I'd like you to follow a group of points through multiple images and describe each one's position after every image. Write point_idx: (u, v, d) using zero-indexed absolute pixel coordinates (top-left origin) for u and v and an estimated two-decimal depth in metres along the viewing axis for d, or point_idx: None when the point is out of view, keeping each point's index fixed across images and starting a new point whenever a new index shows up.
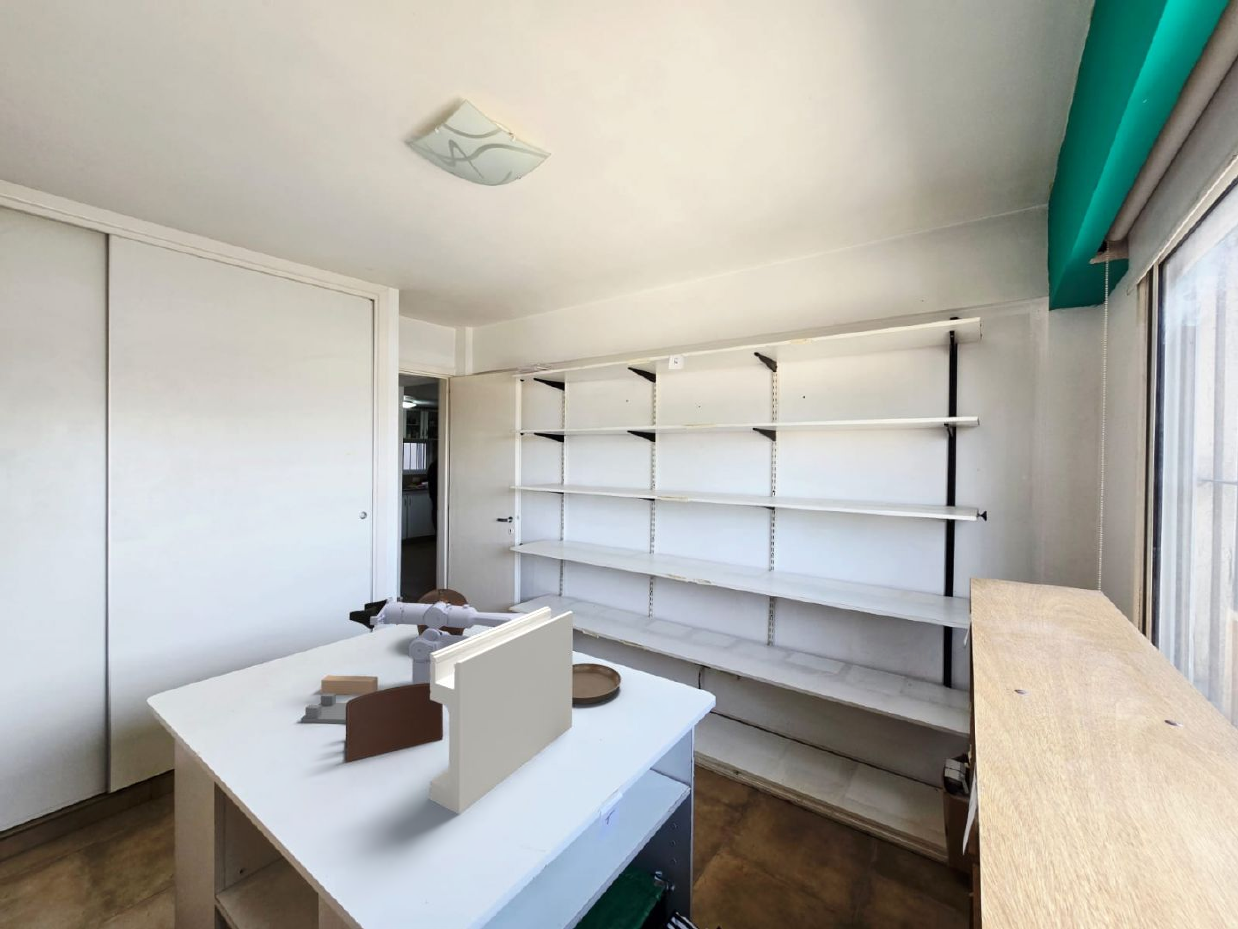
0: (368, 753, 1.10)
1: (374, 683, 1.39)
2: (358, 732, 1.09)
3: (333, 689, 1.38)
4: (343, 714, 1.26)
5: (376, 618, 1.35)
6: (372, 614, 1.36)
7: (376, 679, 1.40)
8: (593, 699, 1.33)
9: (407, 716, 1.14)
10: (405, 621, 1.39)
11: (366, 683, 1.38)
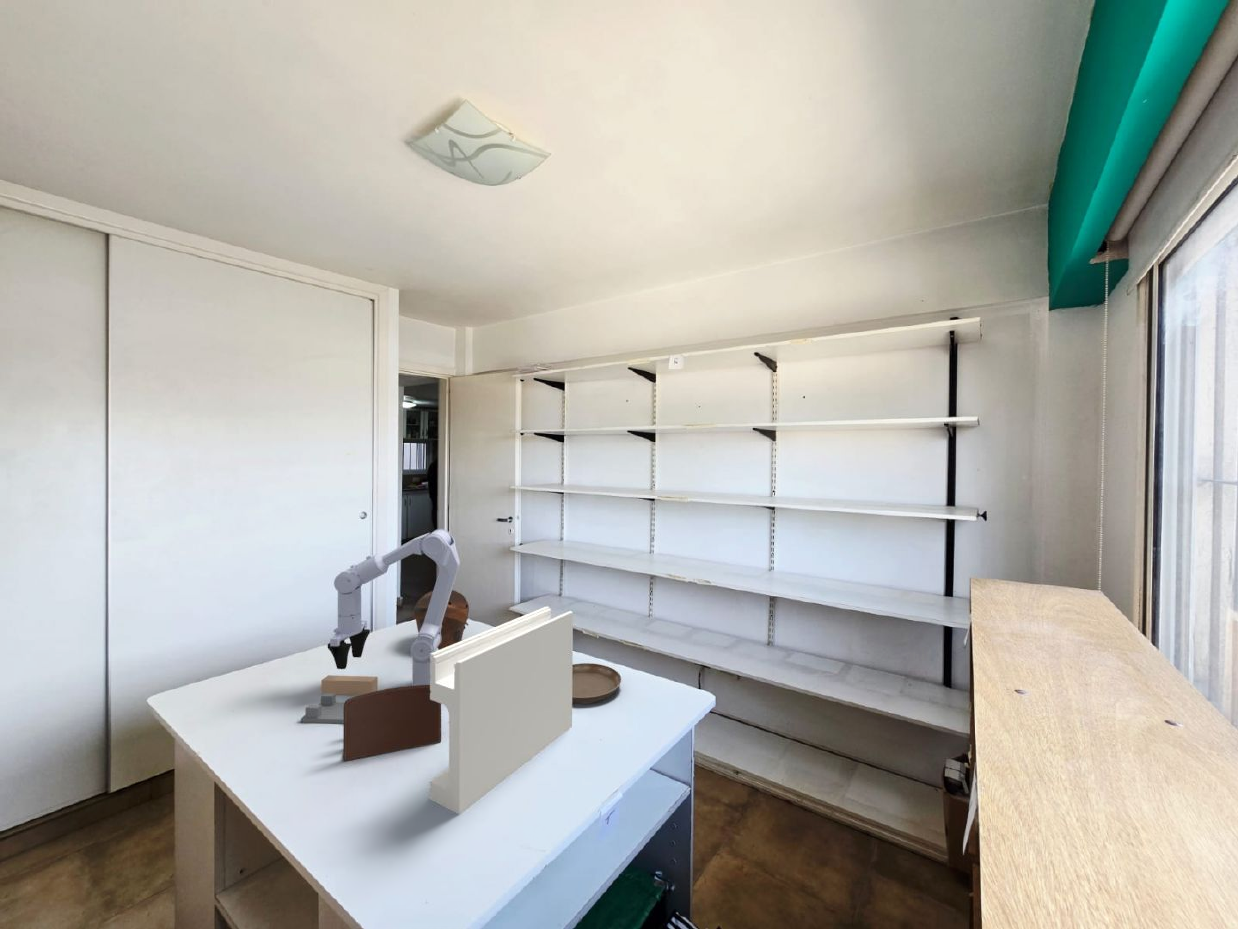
0: (365, 753, 1.10)
1: (374, 683, 1.39)
2: (355, 731, 1.09)
3: (333, 689, 1.38)
4: (343, 714, 1.26)
5: (331, 639, 1.32)
6: None
7: (376, 679, 1.40)
8: (593, 699, 1.33)
9: (405, 717, 1.13)
10: (351, 612, 1.37)
11: (366, 683, 1.38)
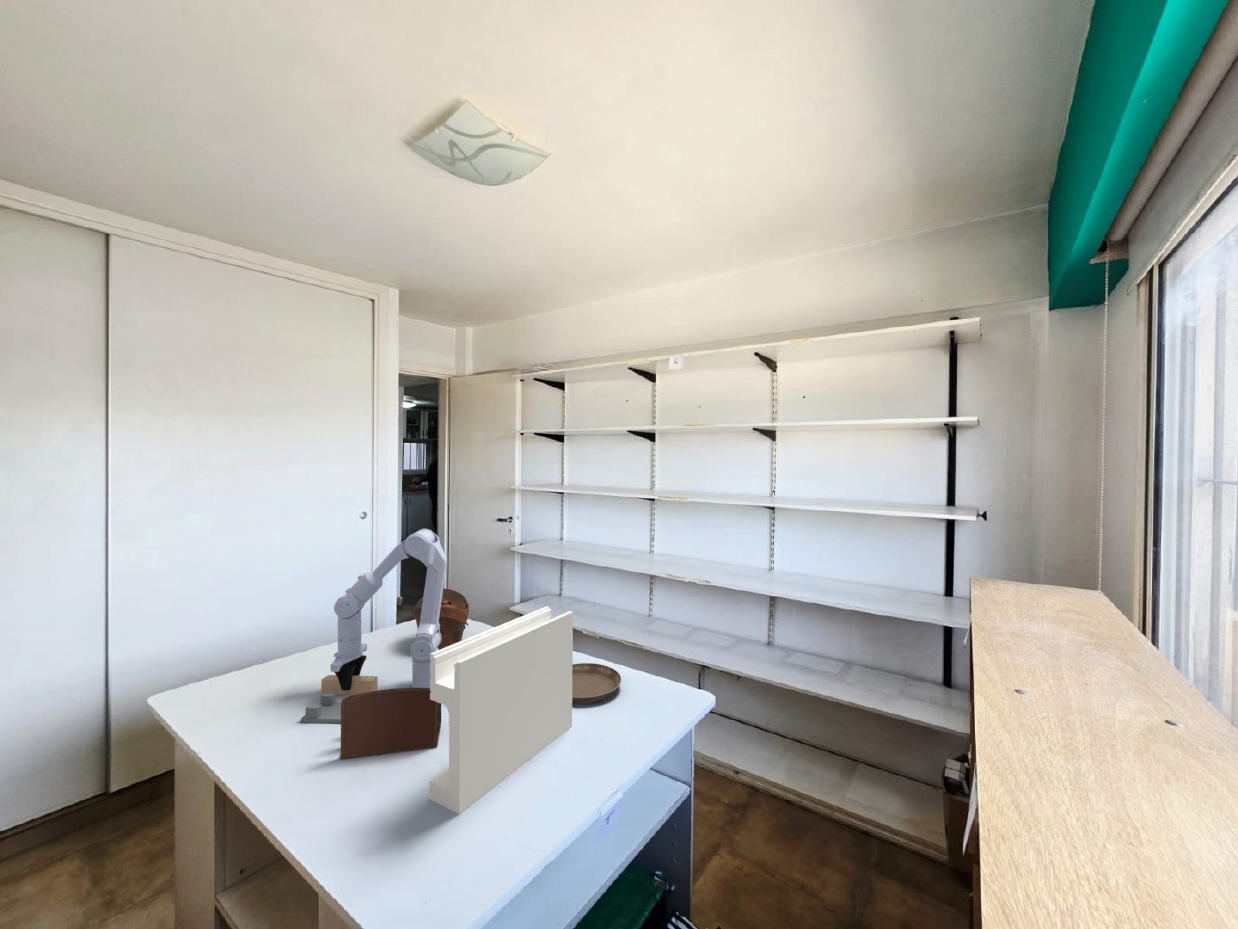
0: (362, 752, 1.10)
1: (374, 683, 1.39)
2: (352, 730, 1.10)
3: (333, 689, 1.38)
4: None
5: (331, 665, 1.32)
6: None
7: (376, 679, 1.40)
8: (593, 699, 1.33)
9: (401, 719, 1.12)
10: (351, 637, 1.37)
11: (366, 682, 1.38)
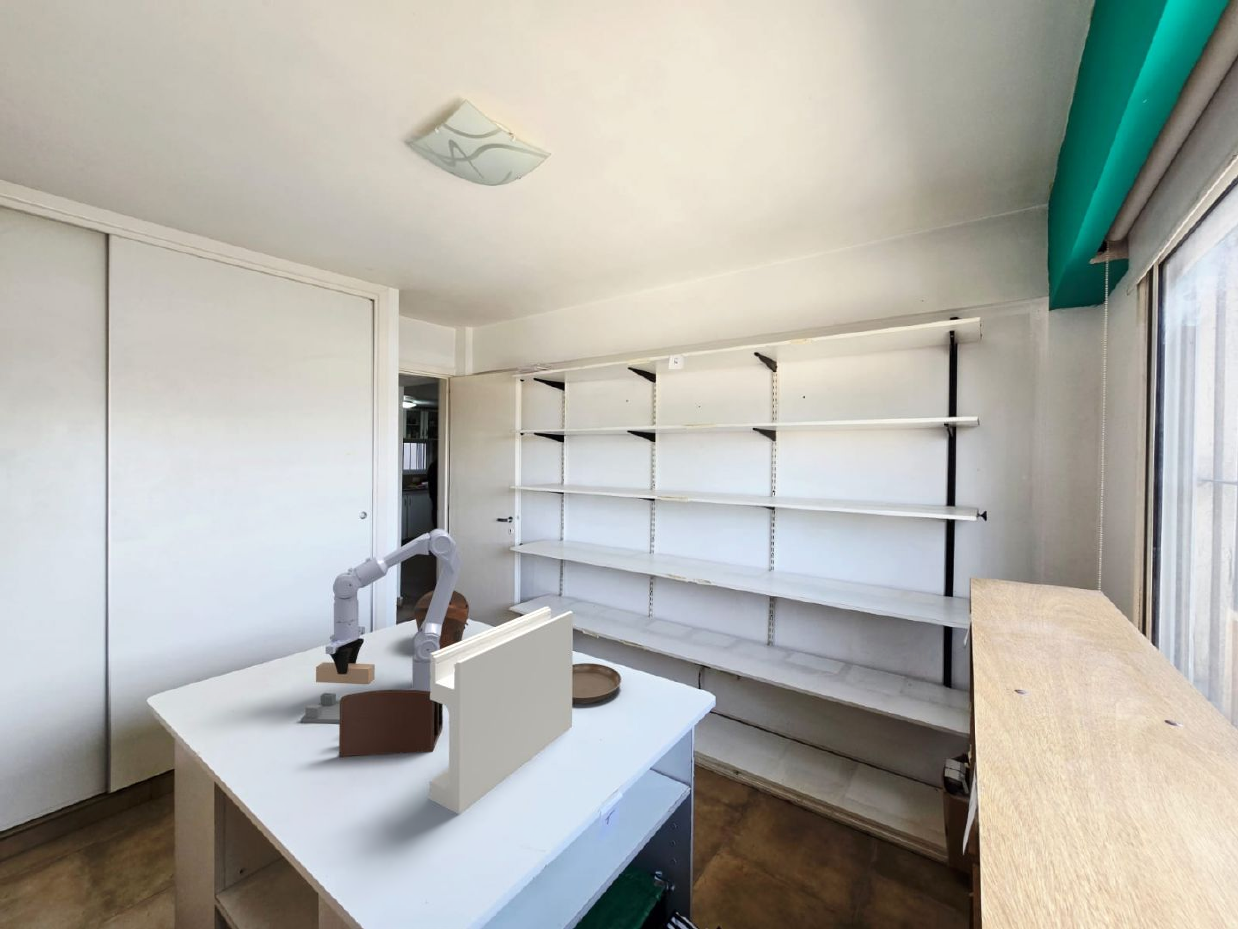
0: (359, 752, 1.10)
1: (371, 671, 1.33)
2: (350, 729, 1.10)
3: (328, 677, 1.32)
4: None
5: (326, 647, 1.26)
6: None
7: (373, 667, 1.34)
8: (593, 699, 1.33)
9: (397, 721, 1.11)
10: (351, 617, 1.31)
11: (362, 670, 1.32)
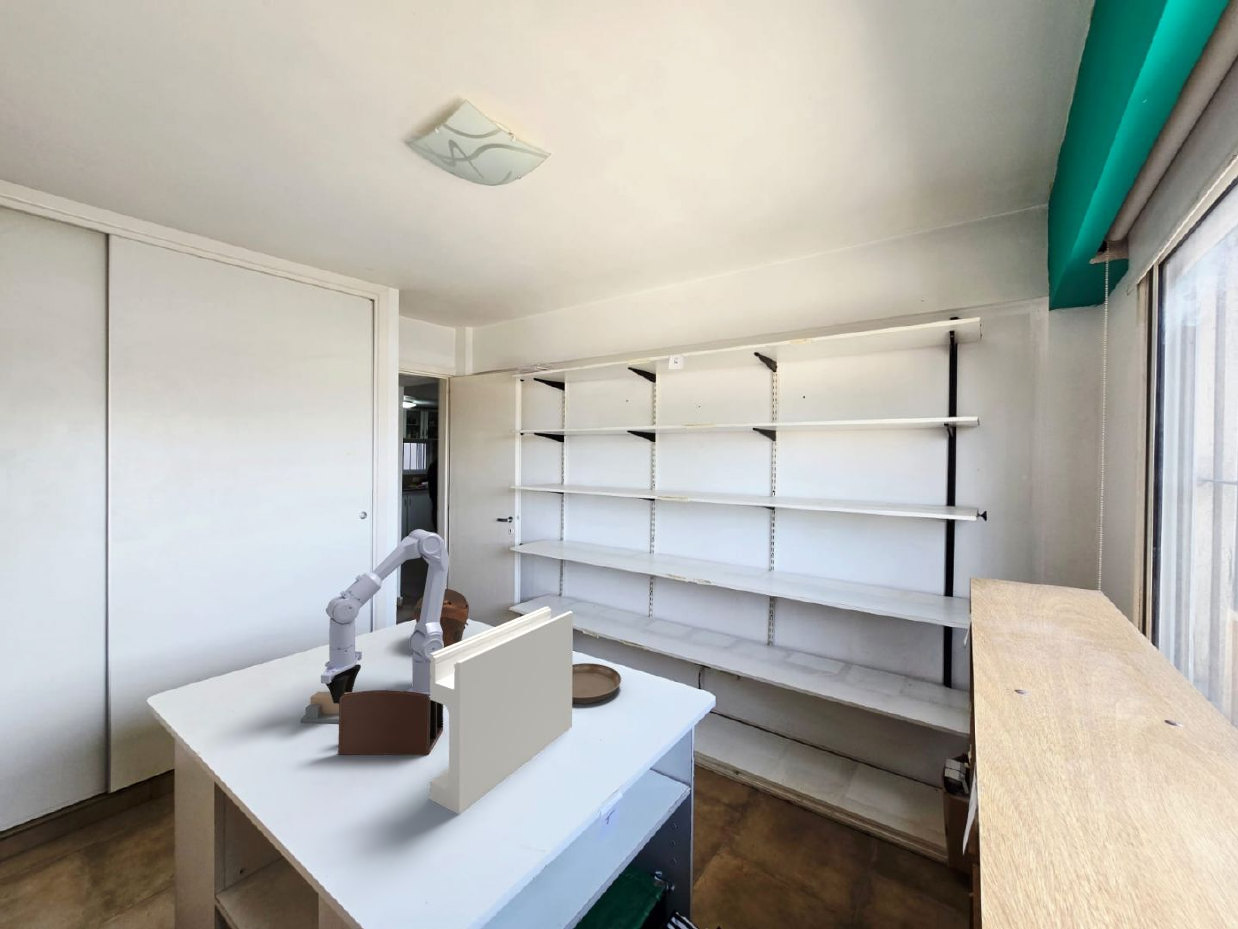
0: (357, 751, 1.11)
1: None
2: (349, 727, 1.11)
3: (323, 707, 1.26)
4: None
5: (321, 676, 1.20)
6: None
7: None
8: (593, 699, 1.33)
9: (394, 722, 1.11)
10: (351, 642, 1.26)
11: None
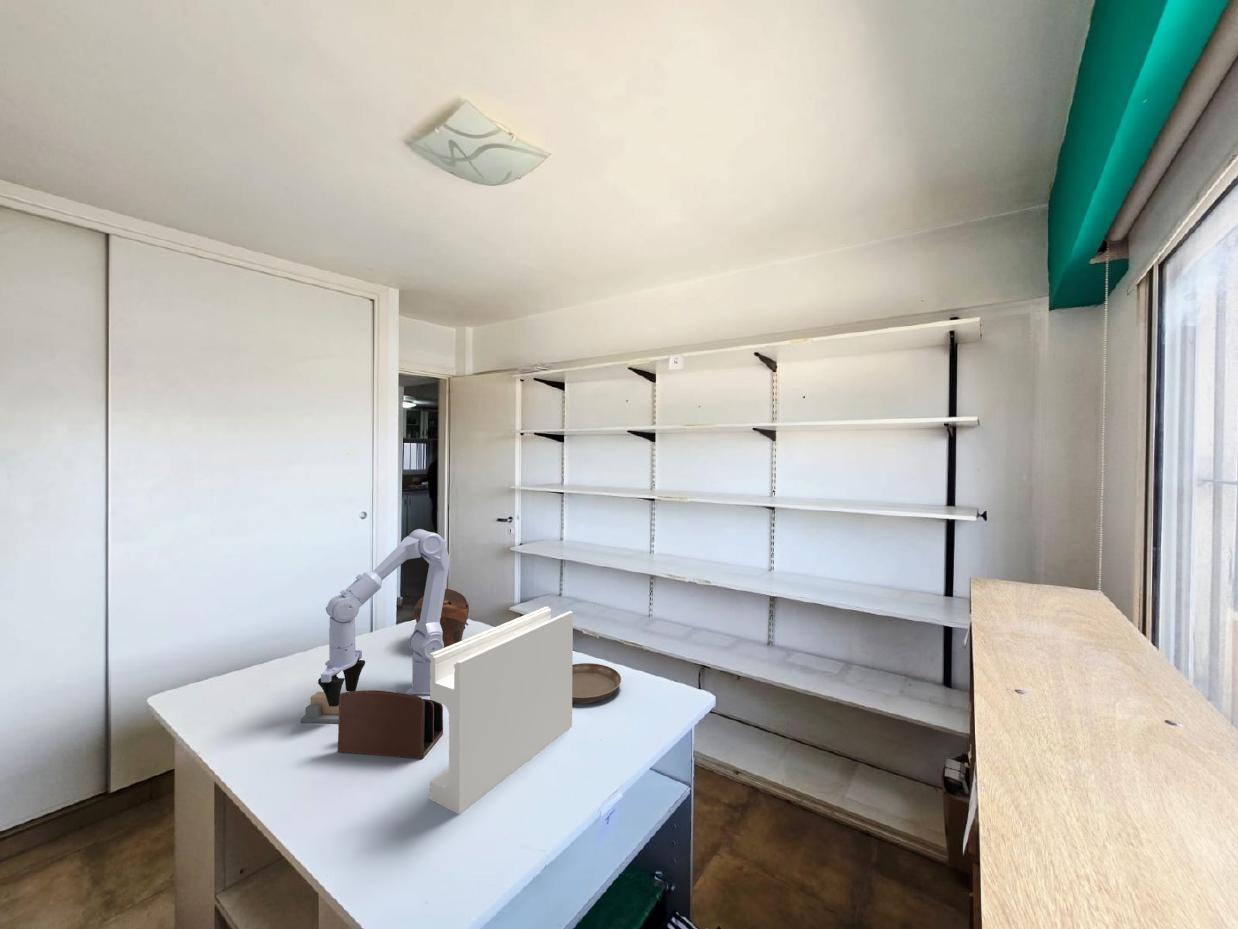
0: (355, 750, 1.11)
1: None
2: (347, 725, 1.11)
3: (323, 707, 1.26)
4: None
5: (321, 675, 1.20)
6: None
7: None
8: (593, 699, 1.33)
9: (390, 724, 1.10)
10: (351, 641, 1.26)
11: None
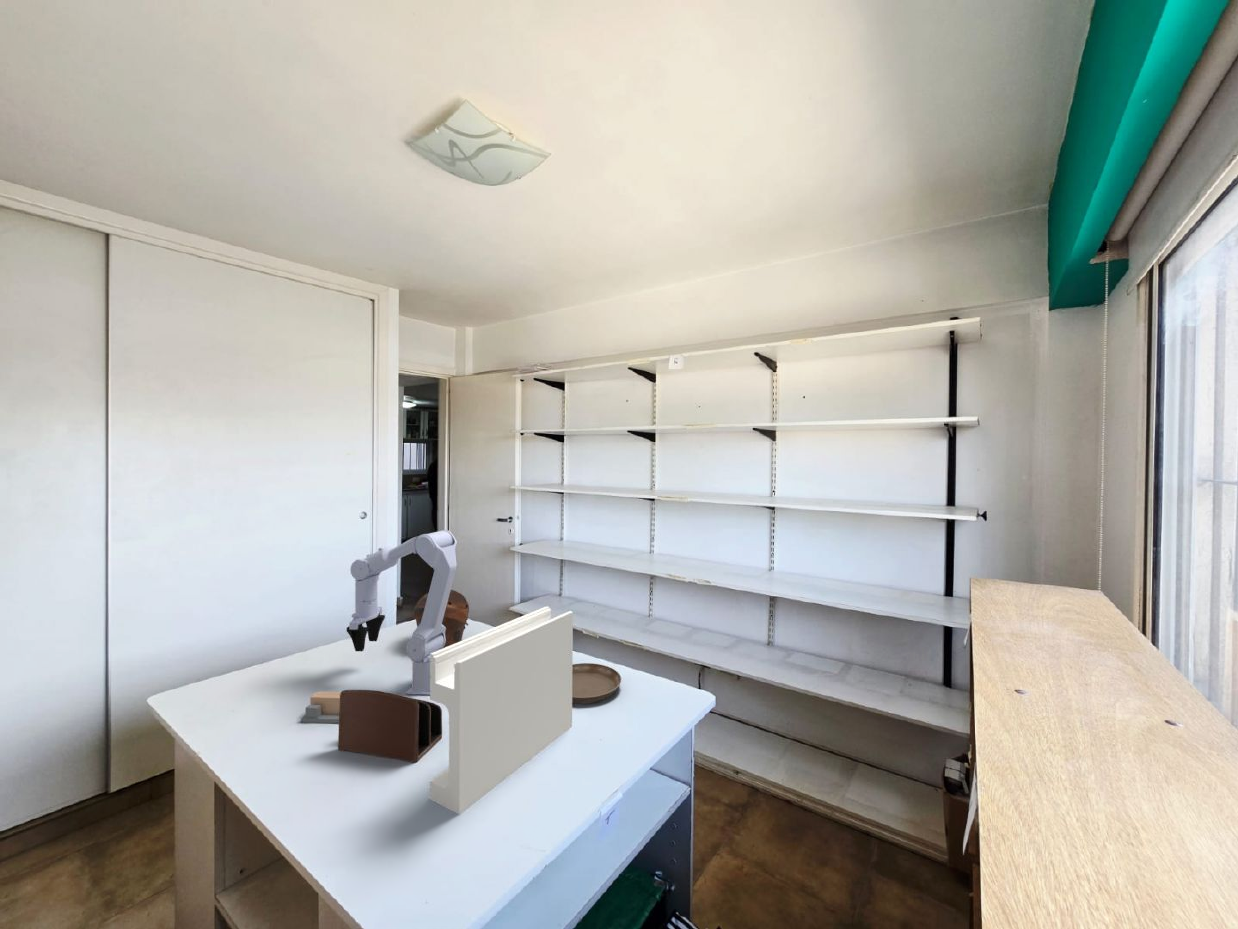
0: (354, 748, 1.12)
1: None
2: (347, 724, 1.12)
3: (323, 707, 1.26)
4: None
5: (350, 623, 1.41)
6: None
7: None
8: (593, 699, 1.33)
9: (386, 725, 1.10)
10: (363, 598, 1.45)
11: None
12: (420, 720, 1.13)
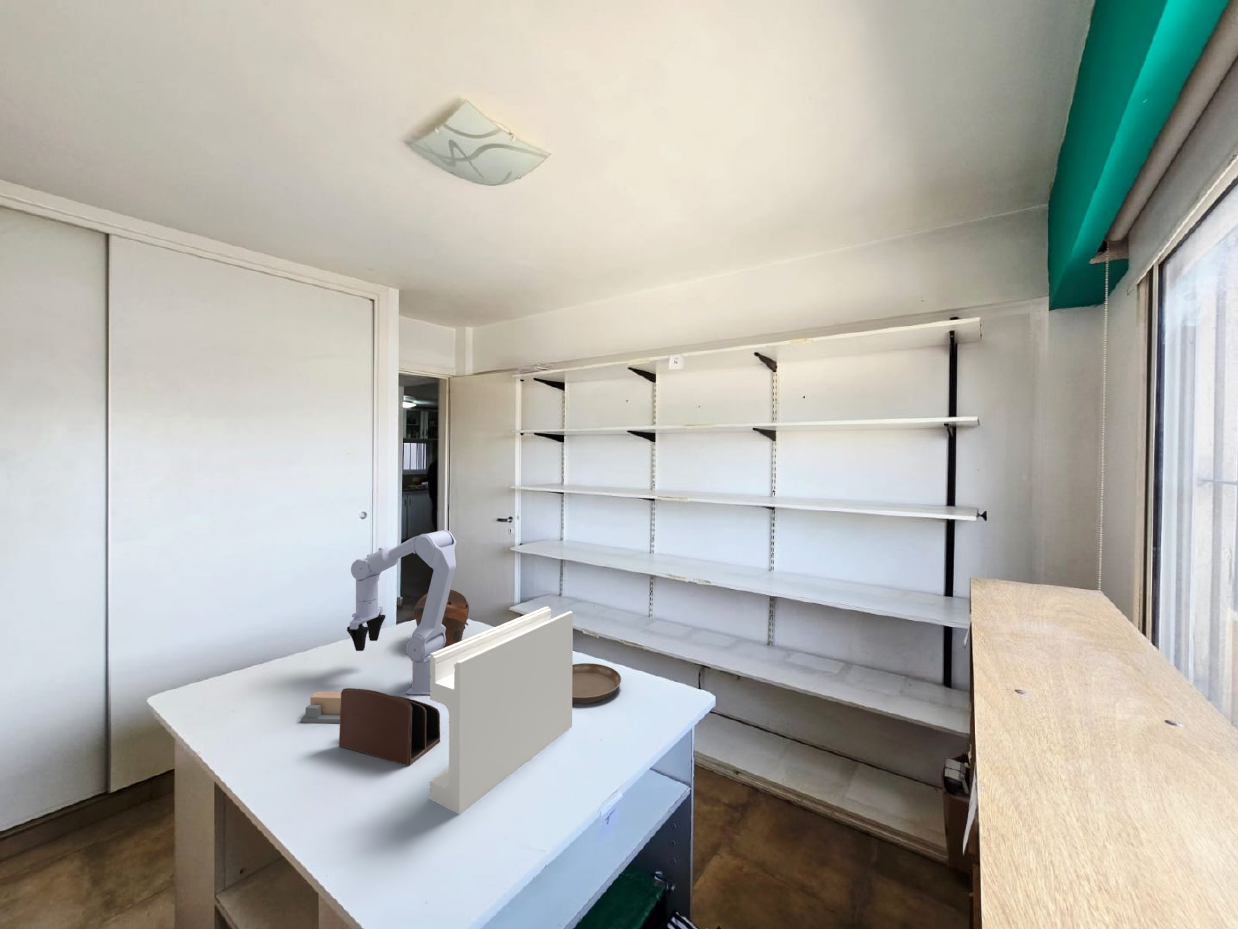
0: (353, 747, 1.12)
1: None
2: (347, 722, 1.13)
3: (323, 707, 1.26)
4: None
5: (350, 623, 1.41)
6: None
7: None
8: (593, 699, 1.33)
9: (381, 726, 1.10)
10: (363, 598, 1.45)
11: None
12: (416, 723, 1.12)
